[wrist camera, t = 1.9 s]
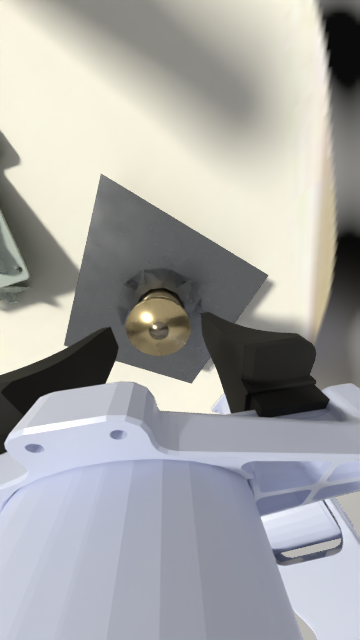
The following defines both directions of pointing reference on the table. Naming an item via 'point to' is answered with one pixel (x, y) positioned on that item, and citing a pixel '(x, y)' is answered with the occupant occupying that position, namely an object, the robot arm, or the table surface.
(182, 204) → the table surface
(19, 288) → the metal bracket
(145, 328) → the round door knob
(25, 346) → the table surface
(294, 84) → the table surface
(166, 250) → the grey flat block
